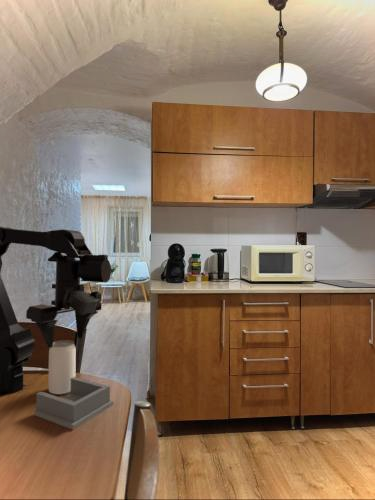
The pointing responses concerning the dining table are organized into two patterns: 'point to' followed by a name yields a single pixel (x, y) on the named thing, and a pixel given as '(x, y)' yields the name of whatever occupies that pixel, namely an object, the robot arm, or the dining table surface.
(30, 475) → the dining table surface
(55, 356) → the can
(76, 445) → the dining table surface
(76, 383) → the u rest
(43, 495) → the dining table surface
